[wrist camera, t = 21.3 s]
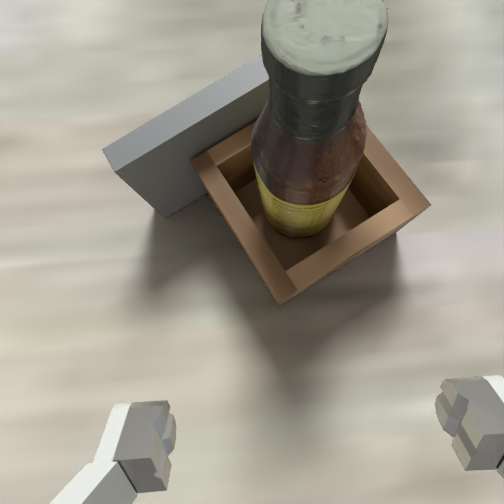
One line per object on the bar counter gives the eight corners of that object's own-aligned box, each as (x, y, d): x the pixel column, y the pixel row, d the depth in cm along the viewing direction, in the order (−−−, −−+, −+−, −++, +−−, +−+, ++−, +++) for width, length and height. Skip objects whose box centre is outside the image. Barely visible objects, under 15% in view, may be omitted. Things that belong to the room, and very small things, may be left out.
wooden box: (279, 306, 29) (278, 301, 22) (209, 195, 32) (189, 160, 25) (396, 232, 30) (431, 204, 23) (317, 129, 32) (327, 77, 26)
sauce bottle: (286, 165, 31) (300, -102, 11) (345, 198, 30) (472, -34, 10) (248, 222, 30) (191, 39, 10) (307, 258, 29) (366, 129, 9)
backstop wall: (165, 218, 32) (114, 172, 22) (155, 202, 32) (101, 149, 22) (355, 102, 33) (387, 8, 23) (343, 87, 33) (370, -11, 23)
